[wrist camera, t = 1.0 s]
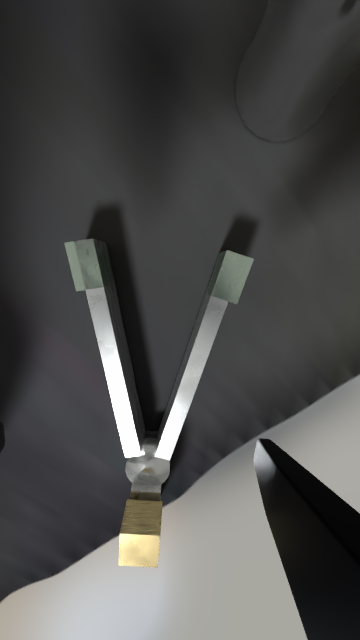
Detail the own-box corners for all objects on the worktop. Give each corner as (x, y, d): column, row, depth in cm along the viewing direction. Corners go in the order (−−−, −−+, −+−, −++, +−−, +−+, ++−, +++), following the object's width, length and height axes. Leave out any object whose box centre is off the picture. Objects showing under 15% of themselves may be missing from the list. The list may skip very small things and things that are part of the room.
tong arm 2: (177, 437, 20) (177, 462, 18) (157, 431, 20) (154, 456, 18) (242, 260, 17) (253, 259, 14) (219, 252, 17) (227, 250, 14)
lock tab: (160, 530, 19) (157, 567, 17) (126, 528, 19) (118, 565, 17) (162, 501, 18) (160, 535, 16) (127, 499, 18) (119, 533, 16)
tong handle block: (166, 496, 22) (164, 531, 19) (129, 494, 22) (121, 529, 19) (172, 431, 21) (171, 458, 18) (131, 429, 21) (124, 455, 18)
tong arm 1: (145, 431, 20) (140, 455, 18) (125, 433, 20) (117, 458, 18) (106, 242, 17) (92, 238, 14) (82, 246, 17) (64, 242, 14)
